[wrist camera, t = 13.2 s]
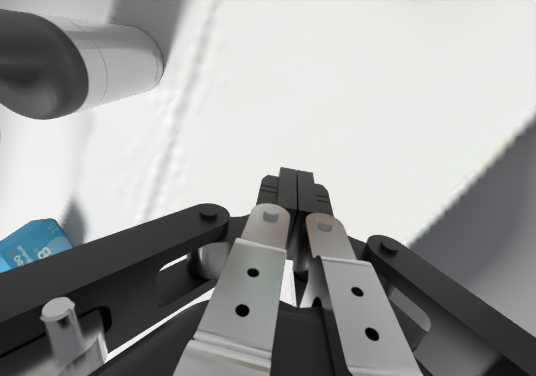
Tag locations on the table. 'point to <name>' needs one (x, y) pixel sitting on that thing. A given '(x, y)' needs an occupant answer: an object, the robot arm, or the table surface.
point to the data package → (32, 243)
